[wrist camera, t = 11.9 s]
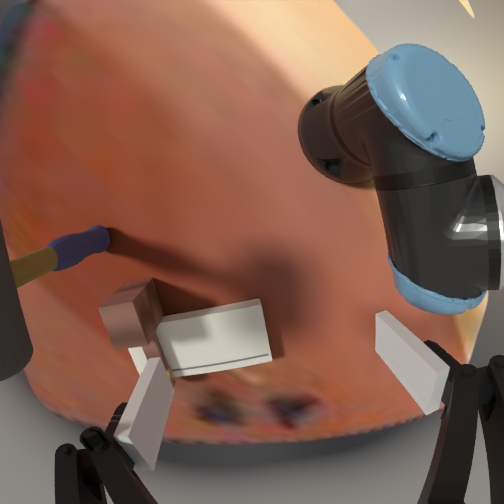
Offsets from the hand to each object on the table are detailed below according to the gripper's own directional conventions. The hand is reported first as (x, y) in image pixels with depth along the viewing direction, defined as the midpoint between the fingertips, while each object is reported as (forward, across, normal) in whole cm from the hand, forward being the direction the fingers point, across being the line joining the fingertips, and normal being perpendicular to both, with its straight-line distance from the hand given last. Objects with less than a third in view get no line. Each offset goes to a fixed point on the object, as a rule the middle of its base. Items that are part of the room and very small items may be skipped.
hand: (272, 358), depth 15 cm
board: (+25, -11, -11) cm, 30 cm away
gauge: (+25, -17, -8) cm, 32 cm away
